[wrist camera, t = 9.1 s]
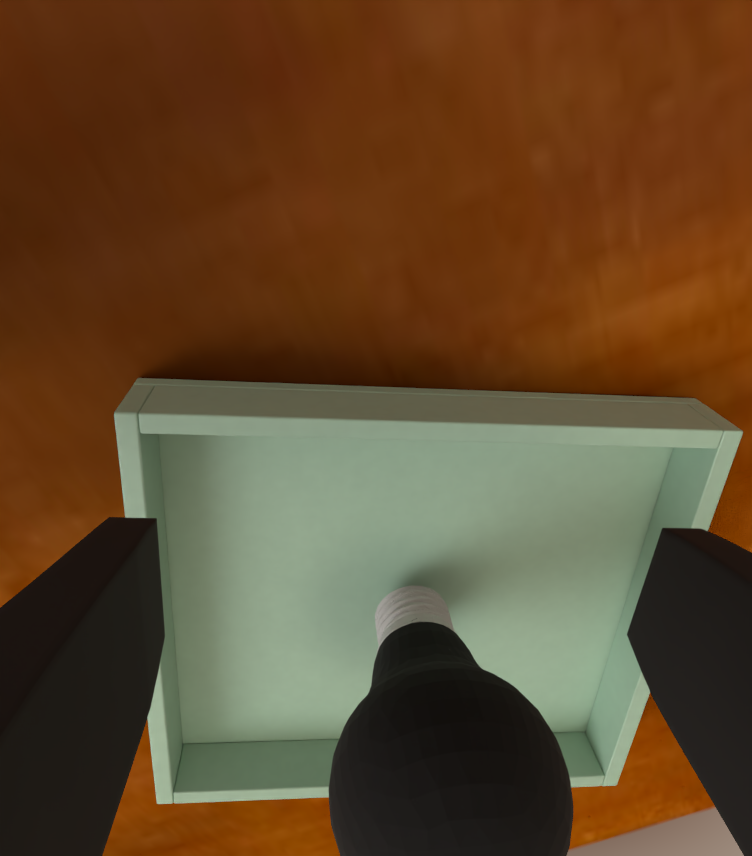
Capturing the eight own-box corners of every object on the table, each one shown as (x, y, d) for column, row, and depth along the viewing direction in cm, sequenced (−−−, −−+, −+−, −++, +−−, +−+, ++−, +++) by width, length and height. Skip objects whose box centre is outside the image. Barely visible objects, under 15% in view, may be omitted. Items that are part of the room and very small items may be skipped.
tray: (170, 743, 24) (156, 805, 22) (137, 377, 18) (112, 412, 16) (591, 730, 26) (616, 786, 24) (695, 397, 20) (744, 431, 18)
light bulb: (295, 563, 21) (284, 895, 12) (462, 501, 20) (584, 796, 11) (360, 680, 23) (392, 1027, 14) (509, 626, 23) (639, 949, 14)
